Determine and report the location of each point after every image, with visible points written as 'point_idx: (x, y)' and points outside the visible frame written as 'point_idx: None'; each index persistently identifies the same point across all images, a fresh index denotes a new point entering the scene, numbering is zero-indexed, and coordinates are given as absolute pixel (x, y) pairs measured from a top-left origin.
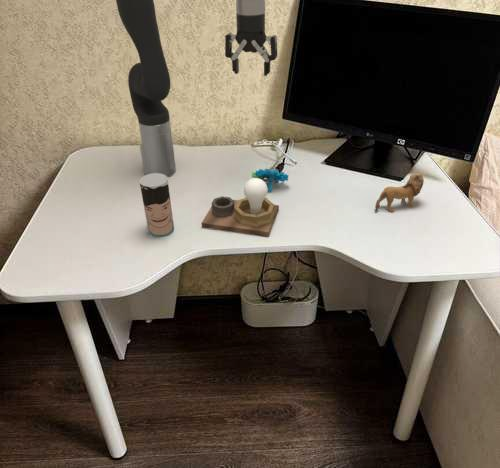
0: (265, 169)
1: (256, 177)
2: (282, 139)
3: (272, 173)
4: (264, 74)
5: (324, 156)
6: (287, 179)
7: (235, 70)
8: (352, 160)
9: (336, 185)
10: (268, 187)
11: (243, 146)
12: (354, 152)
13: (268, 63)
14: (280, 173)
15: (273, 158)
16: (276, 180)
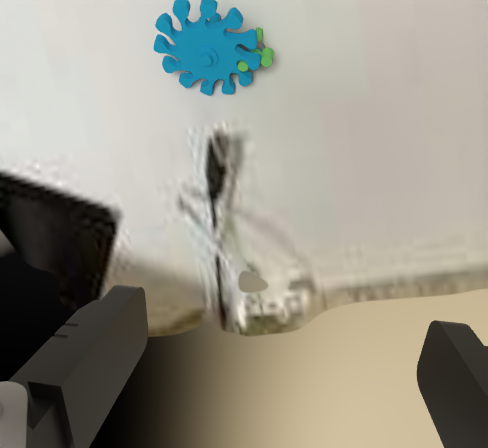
0: (212, 5)
1: (257, 49)
2: (239, 324)
3: (195, 24)
4: (132, 290)
5: (121, 249)
6: (164, 58)
7: (467, 341)
8: (56, 237)
9: (57, 101)
10: (216, 21)
11: (335, 279)
12: (62, 275)
13: (18, 379)
14: (166, 16)
15: (242, 223)
16: (205, 81)
